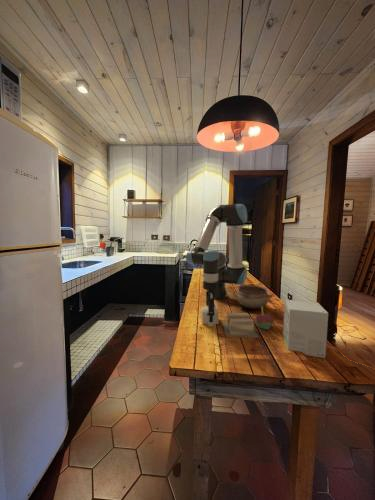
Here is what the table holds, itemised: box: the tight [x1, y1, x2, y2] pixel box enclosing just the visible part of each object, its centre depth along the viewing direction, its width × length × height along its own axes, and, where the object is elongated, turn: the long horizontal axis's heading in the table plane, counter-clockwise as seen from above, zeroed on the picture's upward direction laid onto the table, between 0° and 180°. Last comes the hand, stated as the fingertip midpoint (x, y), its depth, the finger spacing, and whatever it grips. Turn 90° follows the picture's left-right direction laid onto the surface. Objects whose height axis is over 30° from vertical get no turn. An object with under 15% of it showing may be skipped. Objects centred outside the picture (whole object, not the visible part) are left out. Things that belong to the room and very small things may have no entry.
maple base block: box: [226, 312, 255, 335], centre depth 101 cm, size 10×10×6 cm
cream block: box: [200, 306, 220, 325], centre depth 111 cm, size 8×8×7 cm
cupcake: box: [255, 306, 275, 330], centre depth 104 cm, size 9×8×12 cm
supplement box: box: [282, 299, 329, 359], centre depth 88 cm, size 13×13×18 cm
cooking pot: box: [231, 284, 274, 311], centre depth 133 cm, size 25×19×12 cm
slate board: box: [222, 322, 260, 338], centre depth 101 cm, size 14×14×1 cm
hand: (209, 322), depth 111 cm, fingers open, 12 cm apart
